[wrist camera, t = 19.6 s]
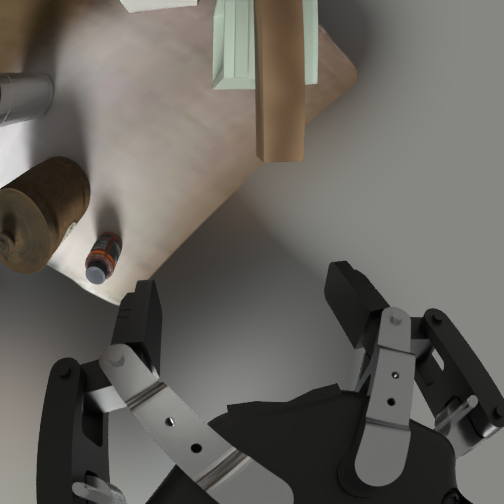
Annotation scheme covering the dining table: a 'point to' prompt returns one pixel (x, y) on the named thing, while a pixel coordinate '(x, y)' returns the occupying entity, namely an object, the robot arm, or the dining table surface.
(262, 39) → the hook bar
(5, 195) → the wooden container
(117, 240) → the supplement bottle
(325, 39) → the dining table surface
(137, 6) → the shelf stand
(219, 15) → the rest stand
